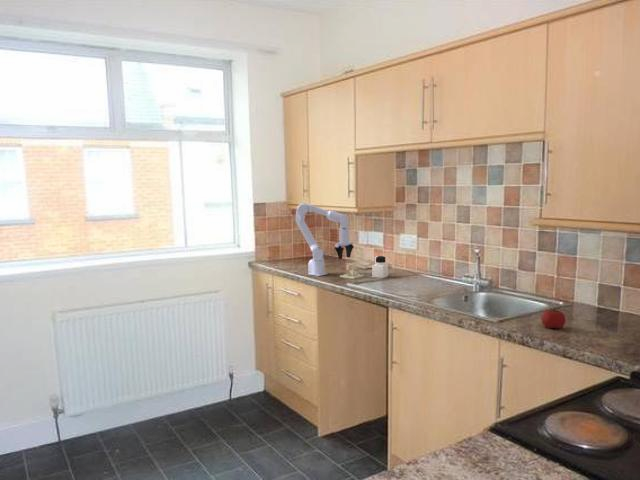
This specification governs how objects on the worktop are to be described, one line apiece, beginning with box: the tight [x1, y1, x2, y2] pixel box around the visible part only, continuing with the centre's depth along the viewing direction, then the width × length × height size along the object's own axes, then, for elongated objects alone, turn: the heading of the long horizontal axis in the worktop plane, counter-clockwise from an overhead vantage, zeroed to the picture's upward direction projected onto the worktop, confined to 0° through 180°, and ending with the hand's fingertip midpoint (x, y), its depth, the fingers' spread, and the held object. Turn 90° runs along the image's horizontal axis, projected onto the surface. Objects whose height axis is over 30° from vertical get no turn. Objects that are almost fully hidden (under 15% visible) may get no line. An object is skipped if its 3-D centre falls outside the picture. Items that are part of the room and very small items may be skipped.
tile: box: [339, 273, 365, 280], centre depth 292 cm, size 10×10×1 cm
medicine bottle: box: [371, 255, 389, 279], centre depth 290 cm, size 7×7×12 cm
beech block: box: [346, 264, 359, 276], centre depth 291 cm, size 4×4×6 cm
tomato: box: [540, 308, 566, 330], centre depth 185 cm, size 8×8×7 cm
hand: (344, 258), depth 298 cm, fingers open, 7 cm apart
